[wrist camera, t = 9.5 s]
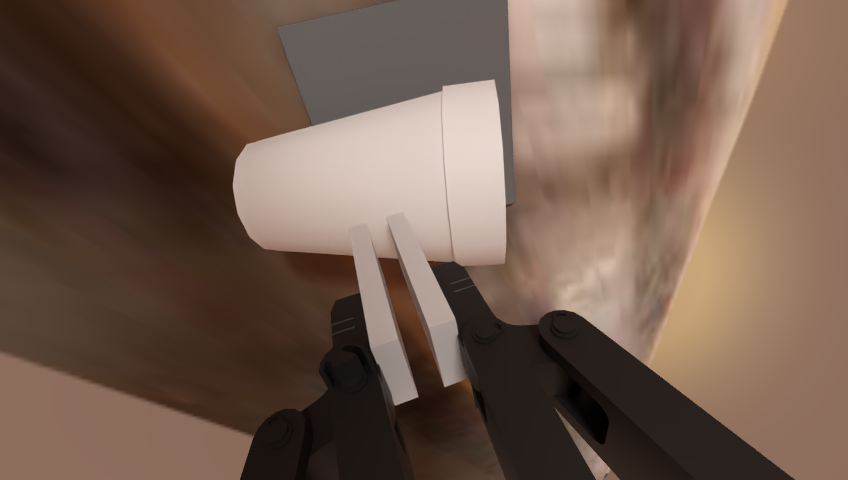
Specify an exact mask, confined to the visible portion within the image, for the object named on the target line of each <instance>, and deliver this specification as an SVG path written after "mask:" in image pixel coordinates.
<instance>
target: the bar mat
mask: <svg viewBox="0 0 848 480" xmlns="http://www.w3.org/2000/svg"><path fill="white" fill-rule="evenodd" d="M277 30H278V33H279V36H280V39H281V41H282V44H283V47H284V50H285V52H286V55H287V58H288V60H289V63H290V66H291V69H292V71H293V74H294V77H295V80H296V82H297V85H298V88H299V91H300V93H301V96H302V99H303V102H304V104H305V107H306V110H307V113H308V115H309V118H310V121H311V123H312V126H315V125H319V124H322V123H326V122H330V121H333V120H337V119H341V118H345V117H348V116H352V115H356V114H359V113H363V112H367V111H370V110H374V109H378V108H381V107H385V106H389V105H393V104H396V103H400V102H404V101H407V100H411V99H415V98H418V97H422V96H426V95H430V94H433V93H437V92H441V91H442V90H443V86H449V85H456V84H464V83H471V82H479V81H486V80H495V86H496V91H497V97H498V103H499V113H500V124H501V134H502V145H503V161H504V180H505V199H506V205H509V204H512V203H515V196H514V168H513V141H512V113H511V85H510V58H509V30H508V2H507V0H396V1H392V2H388V3H383V4H379V5H374V6H370V7H365V8H361V9H357V10H352V11H348V12H343V13H339V14H334V15H330V16H326V17H321V18H317V19H312V20H308V21H303V22H299V23H294V24H290V25H286V26H281V27H277Z"/></svg>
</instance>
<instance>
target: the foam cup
mask: <svg viewBox="0 0 848 480" xmlns="http://www.w3.org/2000/svg"><path fill="white" fill-rule="evenodd" d="M233 191H234V197H235V202H236V208H237V213H238V216H239V218H240V220H241V222H242V224H243V225H244V227H245V229H246V231H247V233H248V235H249V237H250V238H251V239H253V240H254V241H255V242H256V243H257V244H259V245H260V246H261V247H262V248H264V249H269V250H278V251H292V252H307V253H322V254H337V255H351V256H353V250H352V245H351V239H350V234H349V229H348V228H351V227H354V226H358V225H361V224H364V223H366V224H367V227H368V230H369V233H370V236H371V239H372V242H373V245H374V248H375V251H376V254H377V257H381V258H396V259H398V257H397V253H396V250H395V246H394V243H393V240H392V236H391V233H390V229H389V226H388V222H387V219H386V217H387V216H390V215H394V214H397V213H400V212H404V215H405V217H406V219H407V221H408V223H409V225H410V227H411V229H412V231H413V233H414V235H415V237H416V239H417V241H418V243H419V245H420V247H421V249H422V251H423V253H424V255H425V257H426V259H427V261H440V262H452V261H454V262H456V263H458V264H459V265H461V266H475V265H493V264H505V252H506V199H505V180H504V161H503V145H502V134H501V124H500V113H499V103H498V97H497V91H496V86H495V80H486V81H479V82H471V83H464V84H456V85H449V86H443V90H442V91H441V92H437V93H433V94H430V95H426V96H422V97H418V98H415V99H411V100H407V101H404V102H400V103H396V104H393V105H389V106H385V107H381V108H378V109H374V110H370V111H367V112H363V113H359V114H356V115H352V116H348V117H345V118H341V119H337V120H333V121H330V122H326V123H322V124H319V125H315V126H311V127H308V128H304V129H300V130H297V131H293V132H289V133H285V134H282V135H278V136H274V137H271V138H267V139H263V140H260V141H257V142H254V143H250V144H247V145H246V146H245V148H244V149H243V151H242V152H241V154H240V155H239V157H238V158H237V160H236V164H235V172H234V179H233Z"/></svg>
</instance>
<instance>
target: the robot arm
mask: <svg viewBox="0 0 848 480" xmlns="http://www.w3.org/2000/svg"><path fill="white" fill-rule="evenodd" d="M386 219H387V222H388V226H389V229H390V233H391V236H392V240H393V243H394V246H395V250H396V253H397V257H398V260H399V263H400V267H401V269H402V272H403V275H404V278H405V280H406V283H407V286H408V289H409V291H410V294H411V297H412V299H413V302H414V305H415V308H416V310H417V313H418V316H419V319H420V321H421V324H422V327H423V329H424V332H425V335H426V338H427V340H428V343H429V346H430V348H431V351H432V354H433V357H434V359H435V362H436V365H437V368H438V370H439V373H440V376H441V378H442V381H443V384H444V387H446V386H449V385H452V384H454V383H457V382H460V381H462V380H465V379H467V375H468V377H469V379H470V382H471V385H472V390H473V395H474V400H475V405H476V408H479V410H480V413H481V416H482V418H483V421H484V424H485V426H486V429H487V431H488V434H489V437H490V439H491V442H492V444H493V447H494V450H495V452H496V455H497V458H498V460H499V463H500V465H501V468H502V471H503V473H504V476H505V478H506V480H596V479H595V477H594V476H593V474H592V472H591V470H590V469H589V467H588V465H587V463H586V462H585V460H584V458H583V457H582V455H581V453H580V451H579V450H578V448H577V446H576V444H575V443H574V441H573V439H572V437H571V436H570V434H569V432H568V431H567V429H566V427H565V425H564V424H563V422H562V420H561V418H560V417H559V415H558V413H557V412H556V410H555V408H556V409H557V410H558V411H559V412H560V414H561V415H562V416H563V417H564V418H565V419H566V420H567V421H568V422H569V423H570V425H571V426H572V427H573V428H574V429H575V430H576V431H577V432H578V433H579V435H580V436H581V437H582V438H583V439H584V440H585V441H586V442H587V443H588V444H589V446H590V447H591V448H592V449H593V450H594V451H595V452H596V453H597V454H598V456H599V457H600V458H601V459H602V460H603V461H604V462H605V463H606V464H607V465H608V467H609V468H610V469H611V470H612V471H613V472H614V473H615V474H616V475H617V477H618V478H619V479H620V480H794V479H793V478H792V477H790V476H789V475H788V474H787V473H785V472H784V471H783V470H781V469H780V468H779V467H777V466H776V465H775V464H774V463H772V462H771V461H770V460H768V459H767V458H766V457H764V456H763V455H762V454H761V453H759V452H758V451H756V450H755V449H754V448H753V447H751V446H750V445H749V444H747V443H746V442H745V441H744V440H742V439H741V438H740V437H738V436H737V435H736V434H734V433H733V432H732V431H731V430H729V429H728V428H727V427H725V426H724V425H722V424H721V423H720V422H719V421H717V420H716V419H715V418H713V417H712V416H711V415H710V414H708V413H707V412H706V411H704V410H703V409H702V408H700V407H699V406H698V405H696V404H695V403H694V402H693V401H691V400H690V399H689V398H687V397H686V396H685V395H683V394H682V393H681V392H680V391H678V390H677V389H676V388H674V387H673V386H672V385H670V384H669V383H668V382H667V381H665V380H664V379H663V378H661V377H660V376H659V375H657V374H656V373H655V372H653V371H652V370H651V369H650V368H648V367H647V366H646V365H644V364H643V363H642V362H640V361H639V360H638V359H637V358H635V357H634V356H633V355H631V354H630V353H629V352H627V351H626V350H625V349H623V348H622V347H621V346H620V345H618V344H617V343H616V342H614V341H613V340H612V339H610V338H609V337H608V336H607V335H605V334H604V333H603V332H601V331H600V330H599V329H597V328H596V327H595V326H593V325H592V324H591V323H590V322H588V321H587V320H586V319H584V318H583V317H581V316H580V315H578V314H576V313H574V312H570V311H566V310H556V311H552V312H549V313H547V314H545V315H544V316H543V317H542V318H541V319H540V322H539V324H538V325H523V326H519V325H511V324H507V323H505V322H503V321H501V320H499V319H498V318H496V317H495V315H494V314H493V313H492V311H491V310H490V308H489V307H488V305H487V303H486V302H485V300H484V299H483V297H482V295H481V294H480V292H479V291H478V289H477V287H476V286H475V285H474V283H473V281H472V280H471V278H470V276H469V275H468V273H467V272H466V270H465V268H464V267H463V266H461V265H459V264H458V263H456V262H454V261H452V262H449V263H446V264H443V265H440V266H436V267H433V268H430V266H429V264H428V262H427V259H426V257H425V255H424V253H423V251H422V249H421V247H420V245H419V243H418V241H417V239H416V237H415V235H414V233H413V231H412V229H411V227H410V225H409V223H408V221H407V219H406V217H405V215H404V212H400V213H397V214H394V215H390V216H387V217H386ZM348 229H349V234H350V239H351V245H352V250H353V256H354V261H355V267H356V272H357V278H358V283H359V289H360V293H358V294H355V295H351V296H348V297H345V298H342V299H339V300H336V301H335V304H334V306H333V308H332V311H331V324H332V334H333V336H332V339H333V348H332V349H331V350H330V351H329V352H328V353H327V354H326V355H325V356H324V358H323V360H322V361H321V363H320V368H319V373H320V375H321V377H322V378H323V380H324V382H325V384H326V385H327V387H328V390H327V391H326V392H325V394H324V395H323V396H322V397H321V398H319V399H318V400H317V401H316V402H314V403H313V404H311V405H310V406H308V407H307V408H306V409H304V410H303V411H301V412H299V411H298V410H296V409H283V410H281V411H278V412H275V413H274V414H273V415H271V416H270V417H268V418H267V419H266V420H265V421H264V422H263V423H262V425H261V426H260V427H259V428H258V430H257V432H256V434H255V436H254V438H253V441H252V444H251V447H250V450H249V453H248V456H247V460H246V463H245V466H244V469H243V472H242V475H241V478H240V480H415V477H414V473H413V470H412V466H411V462H410V459H409V455H408V451H407V448H406V444H405V440H404V437H403V433H402V429H401V426H400V422H399V420H398V418H397V415H396V413H395V408H394V405H395V406H396V405H398V404H401V403H404V402H406V401H409V400H412V399H414V398H417V397H418V393H417V390H416V386H415V383H414V379H413V376H412V372H411V369H410V365H409V362H408V358H407V355H406V352H405V348H404V345H403V341H402V338H401V334H400V331H399V327H398V324H397V320H396V317H395V313H394V310H393V307H392V303H391V300H390V296H389V293H388V289H387V286H386V282H385V279H384V275H383V272H382V269H381V266H380V263H379V260H378V257H377V254H376V251H375V248H374V245H373V242H372V239H371V236H370V233H369V230H368V227H367V224H366V223H364V224H361V225H358V226H354V227H351V228H348ZM466 373H467V374H466ZM393 402H394V403H393ZM554 407H555V408H554Z"/></svg>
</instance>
